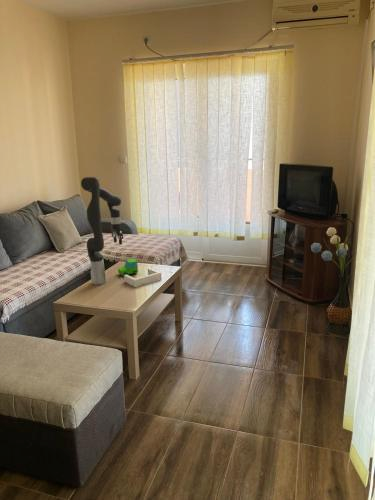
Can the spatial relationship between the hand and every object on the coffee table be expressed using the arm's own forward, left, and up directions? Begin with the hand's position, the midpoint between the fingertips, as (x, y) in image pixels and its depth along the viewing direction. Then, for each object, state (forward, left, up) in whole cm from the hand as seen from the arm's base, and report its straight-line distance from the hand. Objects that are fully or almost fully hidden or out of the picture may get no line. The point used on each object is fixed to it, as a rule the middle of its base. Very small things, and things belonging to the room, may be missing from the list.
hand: (118, 243), depth 307 cm
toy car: (0, -12, -22) cm, 25 cm away
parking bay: (0, -33, -22) cm, 40 cm away
